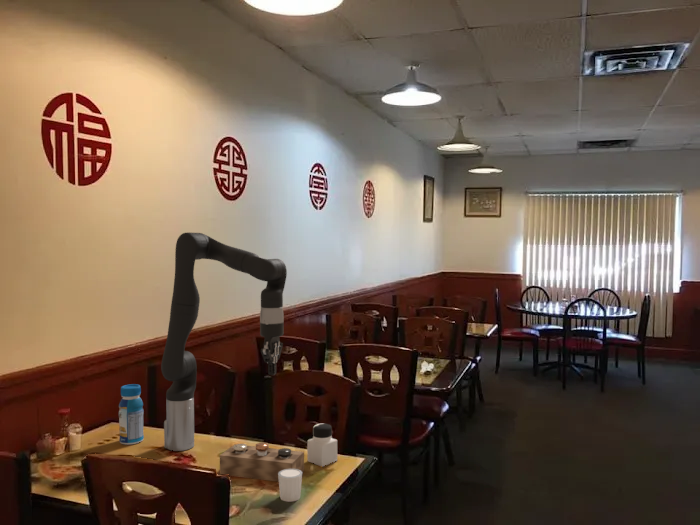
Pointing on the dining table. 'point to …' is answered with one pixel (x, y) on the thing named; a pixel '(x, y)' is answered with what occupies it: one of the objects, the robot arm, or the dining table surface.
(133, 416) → the beverage bottle
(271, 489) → the dining table surface
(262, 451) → the copper-capped glass cylinder
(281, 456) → the grey capped glass jar
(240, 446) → the cream plunger
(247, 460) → the walnut block
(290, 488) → the white cup
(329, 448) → the medicine bottle
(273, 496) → the dining table surface
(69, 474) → the dining table surface
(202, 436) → the dining table surface
